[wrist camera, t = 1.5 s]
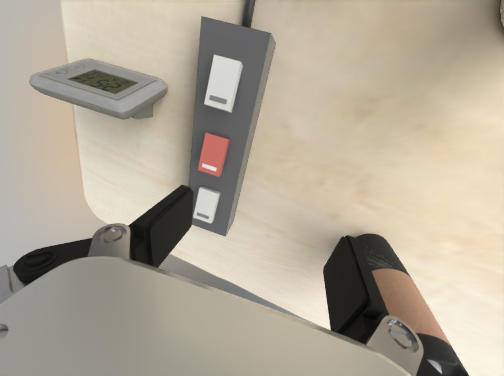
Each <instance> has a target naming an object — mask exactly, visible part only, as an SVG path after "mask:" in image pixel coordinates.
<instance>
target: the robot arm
mask: <svg viewBox="0 0 504 376" xmlns="http://www.w3.org/2000/svg"><path fill="white" fill-rule="evenodd" d="M500 12H501V22H502V25H503V27H504V0H501V8H500ZM193 197H194V191H193V190H192V189H191V187H188V186H184V185H181V186H180V187H178V188H177V189H176V190H174V191H173V192H172V193H170V194H169V195H168V196H167V197H165V198H164V199H163V200H161V201H160V202H159V203H157V204H156V205H155V206H153V207H152V208H151V209H149V210H148V211H147V212H146V213H144V214H143V215H142V216H140V217H139V218H138V219H136V220H135V221H134V222H132V223H131V224H130V225H129V226H127V225H125V224H120V223H116V224H110V225H107V226H104V227H102V228H100V229H99V230H97V231H96V232H95V234H94V235H93V238H89V239H84V240H80V241H74V242H70V243H64V244H59V245H54V246H49V247H44V248H41V249H37V250H34V251H32V252H30V253H28V254H26V255H24V256H22V257H21V258H20V259H19V260H18V261H17V262H16V263H15V264H14V265H13V266H11V267H8V266H7V265H4V266H2V267H0V376H443V375H442V374H441V373H440V372H439V371H438V370H437V369H436V368H435V367H434V366H433V365H432V364H431V363H430V362H429V361H428V360H427V359H426V358H425V357H424V356H423V350H424V349H423V346H422V343H421V341H420V339H419V337H418V336H417V334H416V333H415V332H414V330H413V329H412V328H411V327H410V326H409V325H408V324H406V323H405V322H404V321H402V320H401V319H399V318H397V317H395V316H391V315H389V313H388V310H387V308H386V305H385V303H384V300H383V298H382V295H381V293H380V291H379V288H378V286H377V283H376V281H375V278H374V276H373V273H372V271H371V269H370V266H369V264H368V261H367V259H366V256H365V254H364V251H363V249H362V247H361V244H360V242H359V239H358V238H355V237H352V236H348V235H347V236H345V237H342V238H341V239H340V241H339V243H338V244H337V246H336V248H335V249H334V251H333V253H332V254H331V256H330V258H329V259H328V261H327V263H326V265H325V266H324V270H323V274H324V281H325V289H326V296H327V304H328V312H329V319H330V327H331V330H328V329H326V328H323V327H320V326H317V325H315V324H312V323H310V322H307V321H304V320H302V319H299V318H296V317H293V316H291V315H287V314H285V313H282V312H280V311H277V310H274V309H272V308H269V307H266V306H263V305H261V304H258V303H255V302H252V301H249V300H247V299H244V298H241V297H238V296H235V295H233V294H230V293H227V292H225V291H222V290H219V289H216V288H213V287H210V286H208V285H205V284H202V283H199V282H196V281H194V280H191V279H188V278H185V277H182V276H180V275H177V274H174V273H171V272H168V271H165V270H162V269H159V268H158V267H159V265H160V264H161V263H162V262H163V261H164V259H165V258H166V257H167V256H168V254H169V253H170V252H171V251H172V250H173V248H174V247H175V246H176V245H177V243H178V242H179V241H180V240H181V239H182V237H183V236H184V235H185V234H186V233H187V231H188V230H189V229H190V227H191V225H192V214H193Z"/></svg>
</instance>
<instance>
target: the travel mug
mask: <svg viewBox="0 0 504 376" xmlns="http://www.w3.org/2000/svg"><path fill="white" fill-rule="evenodd" d="M356 238H358V239H359V242H360V244H361V247H362V249H363V251H364V254H365V256H366V259H367V261H368V264H369V266H370V269H371V271H372V273H373V276H374V278H375V281H376V283H377V286H378V288H379V291H380V293H381V295H382V298H383V300H384V303H385V305H386V308H387V310H388V313H389V315H391V316H395V317H397V318H399V319H401V320H402V321H404V322H405V323H406V324H408V325H409V326H410V327H411V328H412V329H413V330H414V332H415V333H416V334H417V336H418V337H419V339H420V341H421V343H422V346H423V349H424V350H423V356H424V357H425V358H426V359H427V360H428V361H429V362H430V363H431V364H432V365H433V366H434V367H435V368H436V369H437V370H438V371H439V372H440V373H441V374H442V375H443V376H469V375H468V373H467V371H466V370H465V368H464V367H463V365H462V363H461V362H460V360H459V358H458V357H457V355H456V353H455V351H454V350H453V348H452V346H451V345H450V343H449V341H448V340H447V338H446V336H445V334H444V333H443V331H442V329H441V328H440V326H439V324H438V322H437V321H436V319H435V317H434V316H433V314H432V312H431V311H430V309H429V307H428V305H427V304H426V302H425V300H424V299H423V297H422V295H421V294H420V292H419V290H418V288H417V287H416V285H415V283H414V282H413V280H412V278H411V277H410V275H409V274H408V272H407V271H406V269H405V267H404V266H403V264H402V263H401V261H400V260H399V258H398V257H397V255H396V254H395V252H394V251H393V249H392V247H391V246H390V244H389V243H388V242H387V240H386V239H384V238H383V237H381V236H379V235H376V234H364V235H361V236H358V237H356Z"/></svg>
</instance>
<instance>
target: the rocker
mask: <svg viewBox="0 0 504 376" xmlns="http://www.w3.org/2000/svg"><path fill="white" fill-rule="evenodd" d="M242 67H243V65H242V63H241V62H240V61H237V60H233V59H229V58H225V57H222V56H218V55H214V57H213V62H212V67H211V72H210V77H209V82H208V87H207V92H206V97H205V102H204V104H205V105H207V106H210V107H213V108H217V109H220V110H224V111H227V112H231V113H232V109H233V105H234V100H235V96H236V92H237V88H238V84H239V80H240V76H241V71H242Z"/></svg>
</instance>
